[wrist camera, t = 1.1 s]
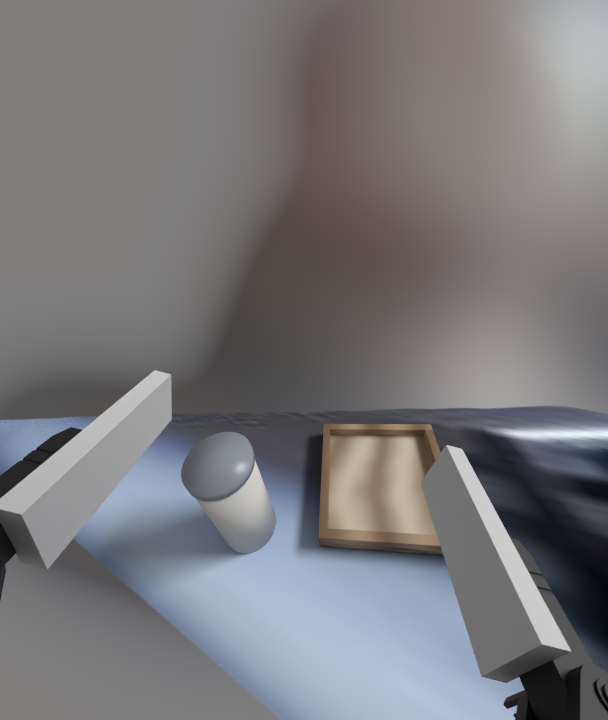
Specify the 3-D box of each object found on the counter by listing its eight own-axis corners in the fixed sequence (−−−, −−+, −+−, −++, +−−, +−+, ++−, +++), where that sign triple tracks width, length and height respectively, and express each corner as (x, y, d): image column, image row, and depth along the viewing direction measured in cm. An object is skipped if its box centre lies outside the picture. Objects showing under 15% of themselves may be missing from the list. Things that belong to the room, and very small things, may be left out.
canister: (273, 491, 37) (250, 425, 29) (280, 545, 32) (255, 484, 24) (224, 504, 37) (186, 440, 28) (223, 562, 31) (175, 505, 23)
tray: (427, 435, 42) (430, 424, 40) (467, 556, 29) (473, 548, 28) (324, 434, 44) (323, 423, 43) (320, 546, 31) (318, 537, 30)
